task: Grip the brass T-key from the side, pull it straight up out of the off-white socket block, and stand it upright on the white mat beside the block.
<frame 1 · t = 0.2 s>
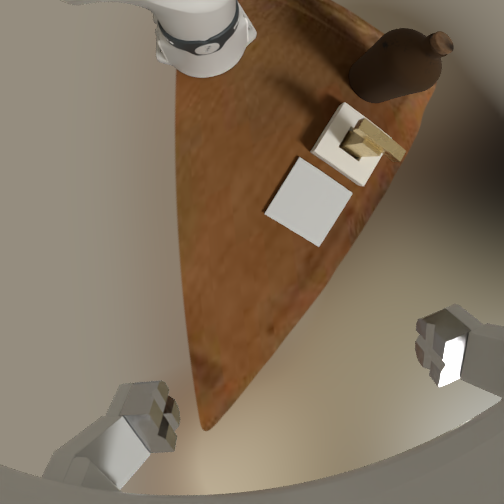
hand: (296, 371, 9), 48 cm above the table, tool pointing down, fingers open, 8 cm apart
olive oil: (370, 81, 49), on the table
socket block: (349, 144, 52), on the table
t key: (364, 142, 45), in the socket block
white mat: (309, 202, 55), on the table
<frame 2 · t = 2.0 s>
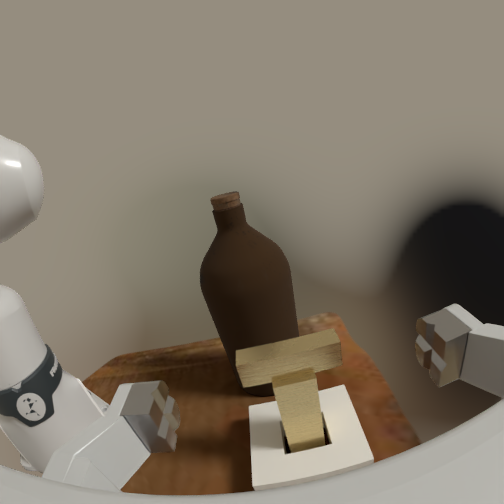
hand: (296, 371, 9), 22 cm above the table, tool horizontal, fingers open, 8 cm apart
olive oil: (271, 374, 41), on the table
socket block: (307, 447, 27), on the table
t key: (299, 407, 25), in the socket block
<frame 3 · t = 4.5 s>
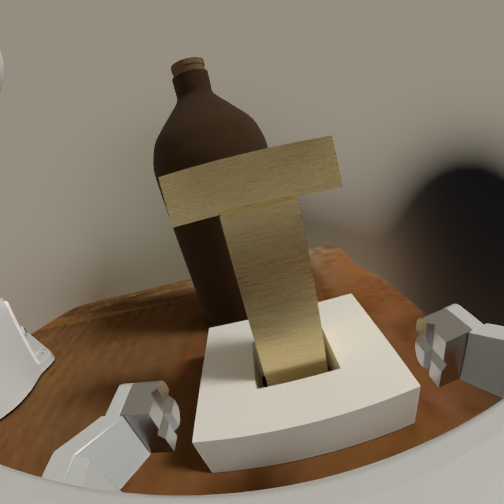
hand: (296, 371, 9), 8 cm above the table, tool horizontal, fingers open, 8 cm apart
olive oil: (250, 305, 32), on the table
socket block: (299, 390, 18), on the table
t key: (277, 292, 16), in the socket block
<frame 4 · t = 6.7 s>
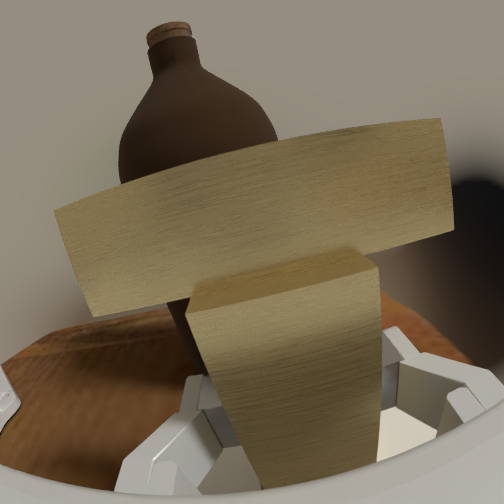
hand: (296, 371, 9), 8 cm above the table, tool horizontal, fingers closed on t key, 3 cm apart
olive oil: (253, 352, 24), on the table
socket block: (323, 499, 10), on the table
t key: (305, 409, 8), in the socket block, touching gripper
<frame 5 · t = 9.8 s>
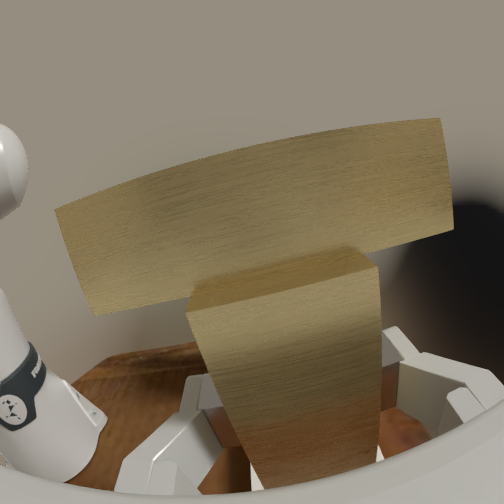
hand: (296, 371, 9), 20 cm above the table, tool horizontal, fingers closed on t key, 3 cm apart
t key: (305, 408, 8), point 20 cm above the table, touching gripper
when the fingers open (10 cm above the table, at t = 12.8 s): t key stays where it is, resting on white mat.
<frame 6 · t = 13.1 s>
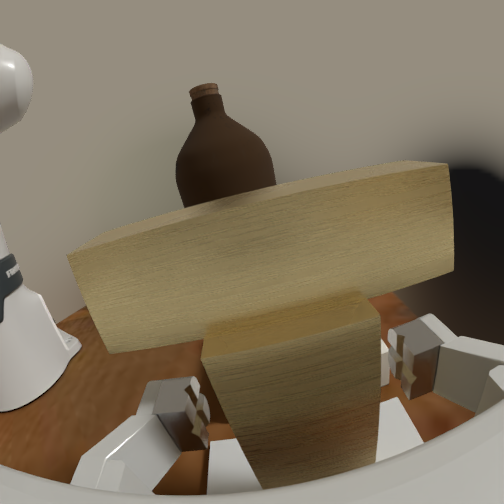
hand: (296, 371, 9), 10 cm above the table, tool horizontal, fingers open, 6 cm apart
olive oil: (257, 296, 37), on the table
socket block: (299, 360, 23), on the table
t key: (308, 428, 8), on the white mat, point 8 cm above the table
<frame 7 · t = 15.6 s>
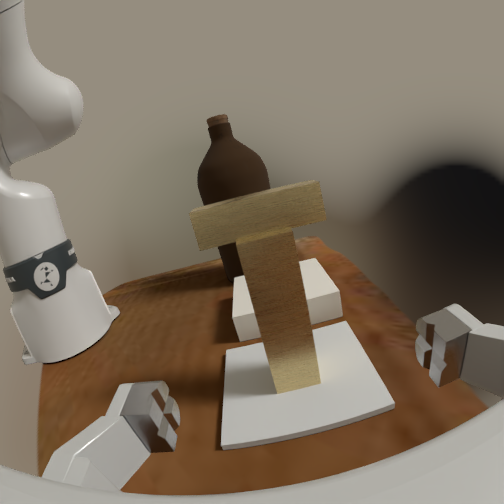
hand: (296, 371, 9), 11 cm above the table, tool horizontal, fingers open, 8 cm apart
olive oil: (257, 272, 50), on the table
socket block: (285, 306, 36), on the table
t key: (278, 298, 21), on the white mat, point 8 cm above the table
white mat: (297, 380, 23), on the table
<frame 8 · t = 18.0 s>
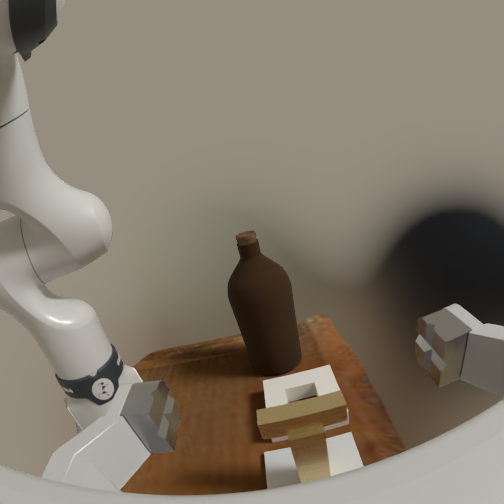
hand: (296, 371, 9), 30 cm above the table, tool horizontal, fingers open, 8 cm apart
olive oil: (277, 360, 55), on the table
socket block: (304, 408, 42), on the table
t key: (309, 449, 27), on the white mat, point 8 cm above the table
white mat: (315, 479, 29), on the table
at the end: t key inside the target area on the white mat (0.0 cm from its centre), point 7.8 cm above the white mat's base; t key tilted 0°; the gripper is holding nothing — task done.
